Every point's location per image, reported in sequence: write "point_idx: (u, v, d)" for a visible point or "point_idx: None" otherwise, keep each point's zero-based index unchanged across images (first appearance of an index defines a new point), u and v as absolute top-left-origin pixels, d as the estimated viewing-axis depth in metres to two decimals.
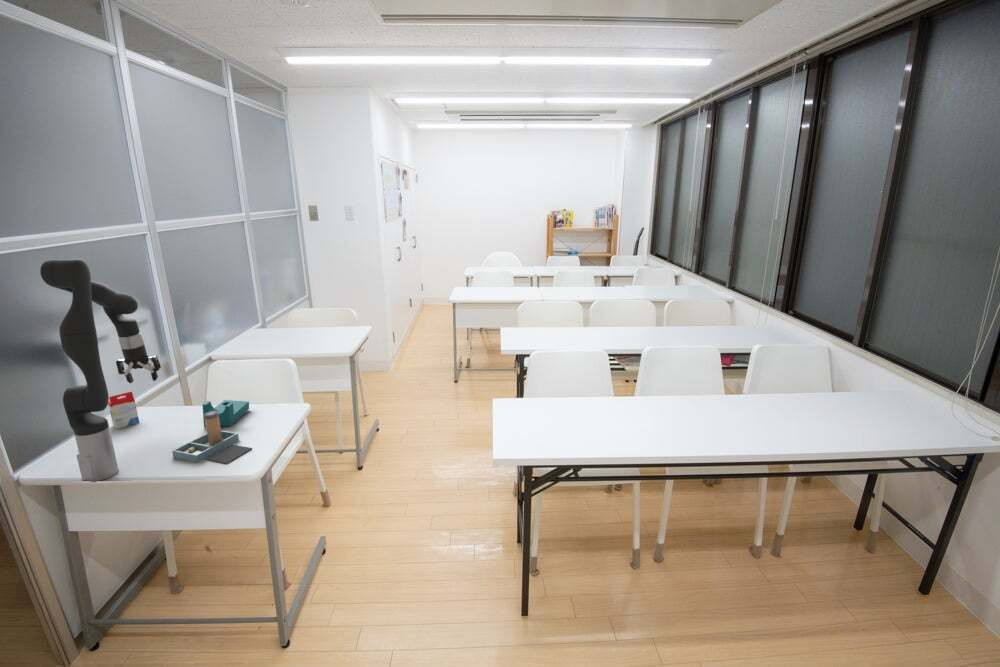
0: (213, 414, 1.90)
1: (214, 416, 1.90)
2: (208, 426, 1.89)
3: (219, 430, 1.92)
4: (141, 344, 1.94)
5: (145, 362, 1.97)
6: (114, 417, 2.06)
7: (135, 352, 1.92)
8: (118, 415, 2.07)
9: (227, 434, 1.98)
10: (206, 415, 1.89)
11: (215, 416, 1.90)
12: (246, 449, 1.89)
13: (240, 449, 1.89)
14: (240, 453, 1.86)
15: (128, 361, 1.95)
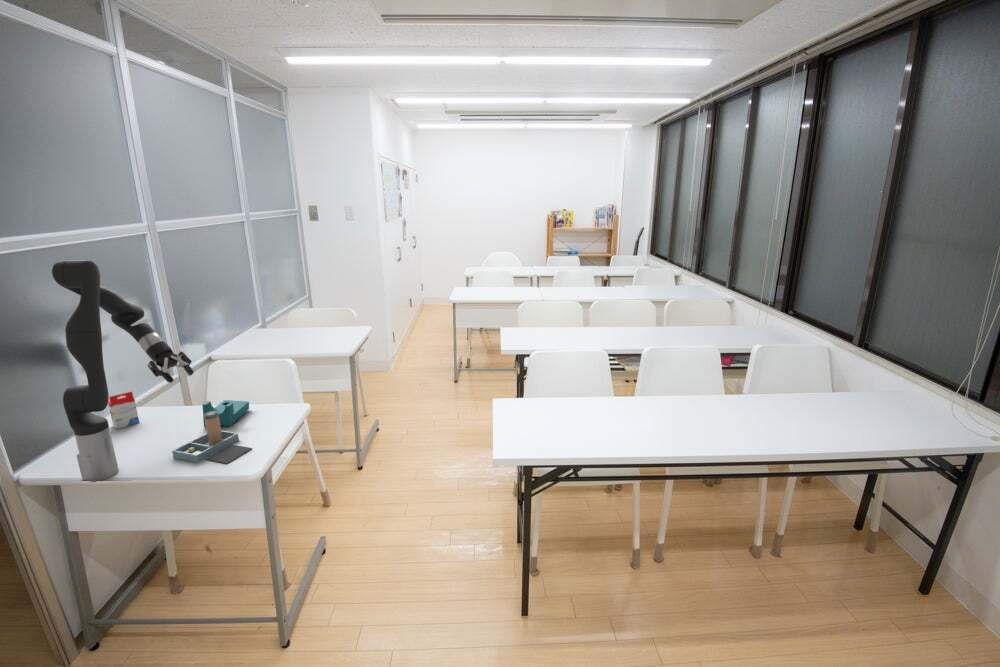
0: (213, 414, 1.90)
1: (214, 416, 1.90)
2: (208, 426, 1.89)
3: (219, 430, 1.92)
4: None
5: (176, 357, 1.93)
6: (114, 417, 2.06)
7: (167, 344, 1.91)
8: (118, 415, 2.07)
9: (227, 434, 1.98)
10: (206, 415, 1.89)
11: (215, 416, 1.90)
12: (246, 449, 1.89)
13: (240, 449, 1.89)
14: (240, 453, 1.86)
15: (161, 359, 1.88)
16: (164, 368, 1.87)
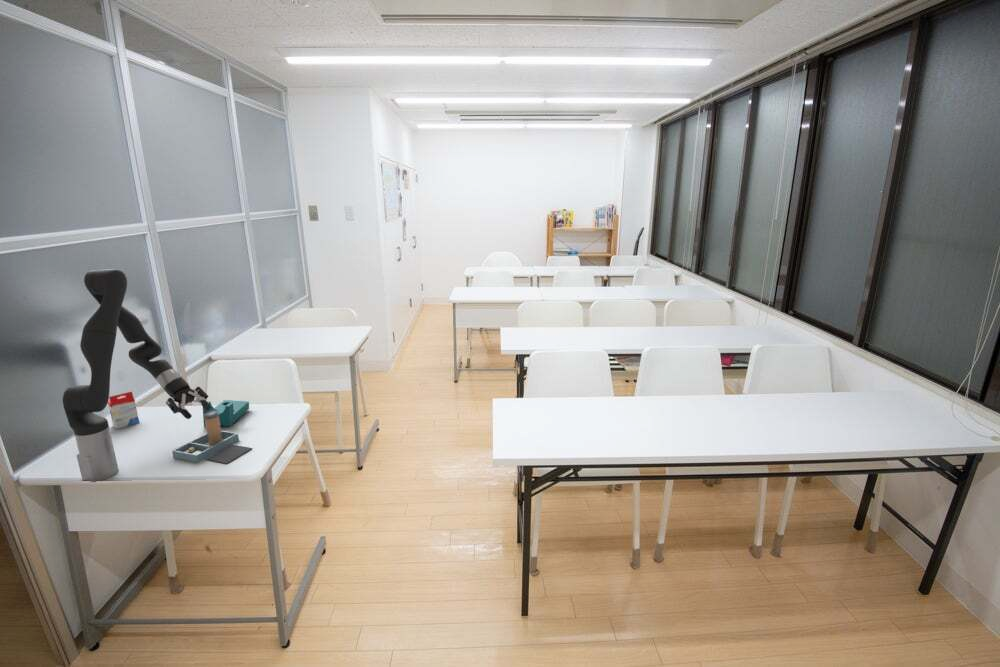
0: (213, 414, 1.90)
1: (214, 416, 1.90)
2: (208, 426, 1.89)
3: (219, 430, 1.92)
4: None
5: (193, 392, 1.95)
6: (114, 417, 2.06)
7: (184, 380, 1.94)
8: (118, 415, 2.07)
9: (227, 434, 1.98)
10: (206, 415, 1.89)
11: (215, 416, 1.90)
12: (246, 449, 1.89)
13: (240, 449, 1.89)
14: (240, 453, 1.86)
15: (178, 396, 1.90)
16: (182, 404, 1.89)
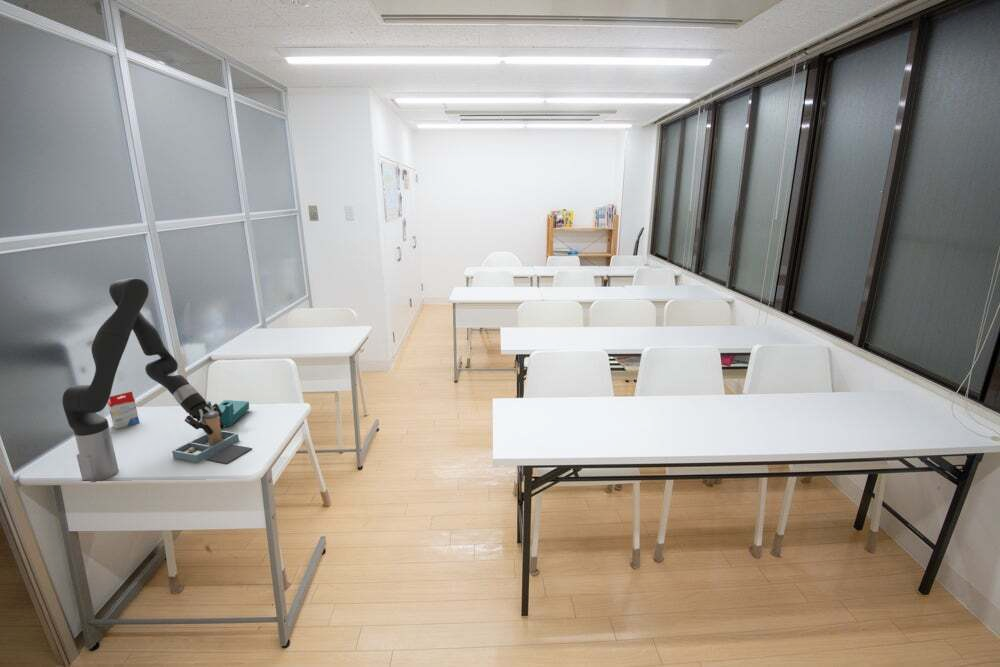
0: (213, 414, 1.90)
1: (214, 416, 1.90)
2: (209, 426, 1.90)
3: (219, 430, 1.92)
4: None
5: (210, 409, 1.94)
6: (114, 417, 2.06)
7: (200, 396, 1.93)
8: (118, 415, 2.07)
9: (227, 434, 1.98)
10: (206, 415, 1.89)
11: (215, 416, 1.90)
12: (246, 449, 1.89)
13: (240, 449, 1.89)
14: (240, 453, 1.86)
15: (195, 411, 1.89)
16: (203, 420, 1.89)
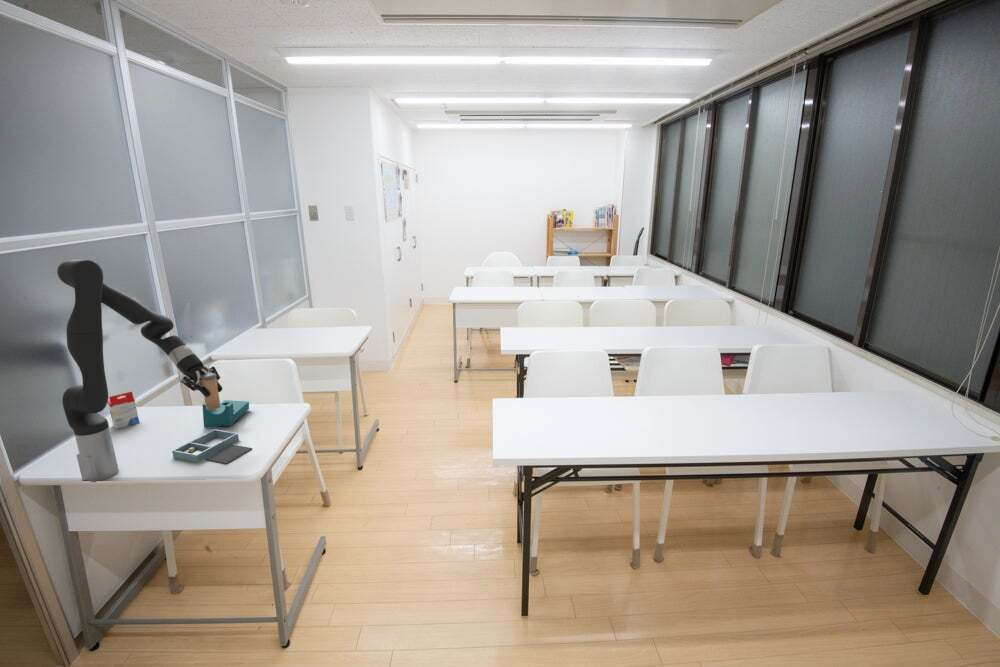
0: (211, 375, 1.84)
1: (212, 377, 1.83)
2: None
3: (217, 393, 1.86)
4: None
5: (207, 372, 1.88)
6: (114, 417, 2.06)
7: (197, 357, 1.86)
8: (118, 415, 2.07)
9: (227, 434, 1.98)
10: (203, 376, 1.83)
11: (213, 377, 1.83)
12: (246, 449, 1.89)
13: (240, 449, 1.89)
14: (240, 453, 1.86)
15: (192, 373, 1.83)
16: (200, 382, 1.82)
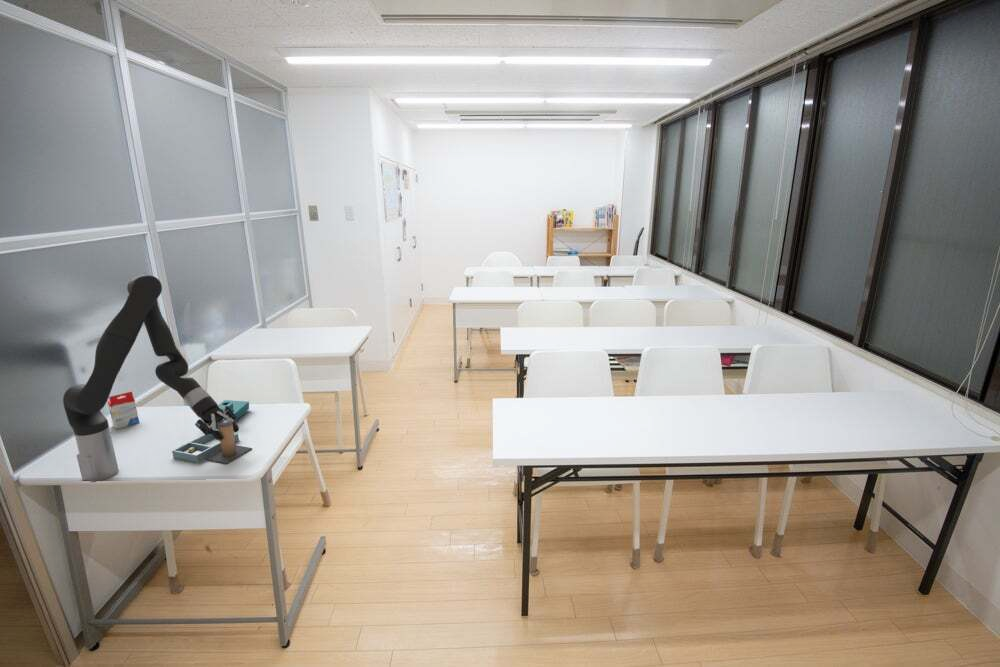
0: (227, 422, 1.82)
1: (228, 424, 1.81)
2: (222, 435, 1.81)
3: (233, 439, 1.84)
4: None
5: (222, 413, 1.86)
6: (114, 417, 2.06)
7: (212, 400, 1.84)
8: (118, 415, 2.07)
9: None
10: (220, 423, 1.81)
11: (229, 424, 1.82)
12: (246, 449, 1.89)
13: (240, 449, 1.89)
14: (240, 453, 1.86)
15: (207, 416, 1.81)
16: (213, 426, 1.80)
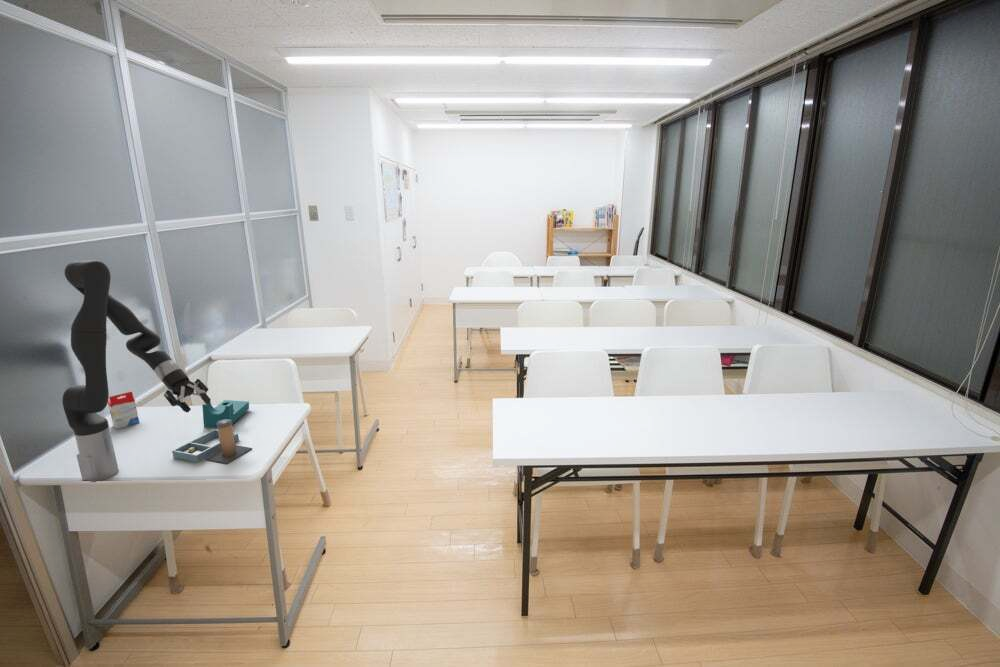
0: (226, 422, 1.82)
1: (227, 424, 1.81)
2: (222, 435, 1.81)
3: (232, 439, 1.84)
4: None
5: (193, 385, 1.87)
6: (114, 417, 2.06)
7: (183, 372, 1.85)
8: (118, 415, 2.07)
9: None
10: (219, 423, 1.81)
11: (228, 424, 1.81)
12: (246, 449, 1.89)
13: (240, 449, 1.89)
14: (240, 453, 1.86)
15: (177, 388, 1.82)
16: (181, 397, 1.80)
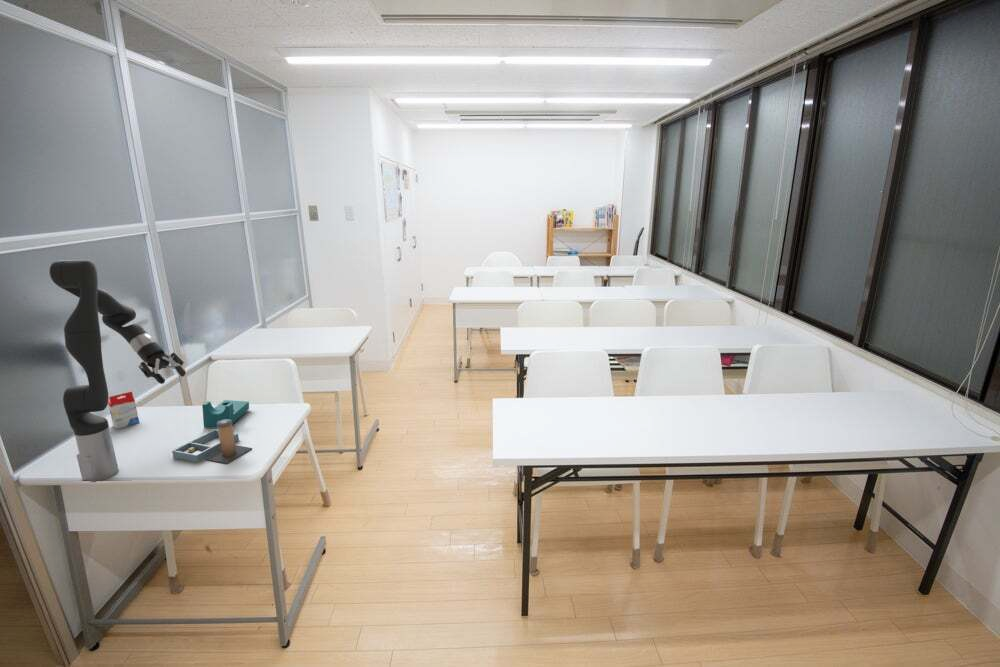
0: (226, 422, 1.82)
1: (228, 424, 1.81)
2: (222, 435, 1.81)
3: (232, 439, 1.84)
4: None
5: (168, 358, 1.92)
6: (114, 417, 2.06)
7: (158, 345, 1.90)
8: (118, 415, 2.07)
9: None
10: (219, 423, 1.81)
11: (229, 424, 1.82)
12: (246, 449, 1.89)
13: (240, 449, 1.89)
14: (240, 453, 1.86)
15: (152, 360, 1.87)
16: (155, 369, 1.85)
